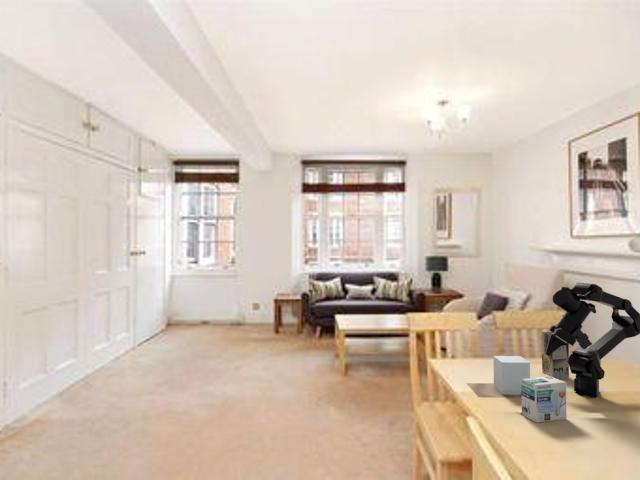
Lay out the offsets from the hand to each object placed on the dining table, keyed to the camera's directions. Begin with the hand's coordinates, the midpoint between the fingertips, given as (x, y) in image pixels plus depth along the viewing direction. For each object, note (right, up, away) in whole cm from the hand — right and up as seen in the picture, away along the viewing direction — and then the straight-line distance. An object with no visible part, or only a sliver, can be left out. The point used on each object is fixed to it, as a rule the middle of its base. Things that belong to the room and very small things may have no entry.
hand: (547, 355), depth 156 cm
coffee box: (+14, -13, +21) cm, 29 cm away
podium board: (-15, -13, 0) cm, 20 cm away
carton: (-12, -12, 0) cm, 17 cm away
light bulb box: (-11, -13, -21) cm, 27 cm away
